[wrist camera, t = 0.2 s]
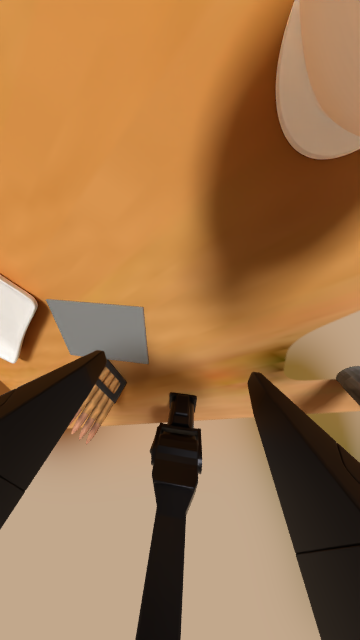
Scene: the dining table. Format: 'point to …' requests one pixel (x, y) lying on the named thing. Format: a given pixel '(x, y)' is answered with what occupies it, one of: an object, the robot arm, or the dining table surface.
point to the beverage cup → (351, 381)
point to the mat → (102, 329)
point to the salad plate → (14, 318)
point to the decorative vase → (320, 78)
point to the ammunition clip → (99, 401)
